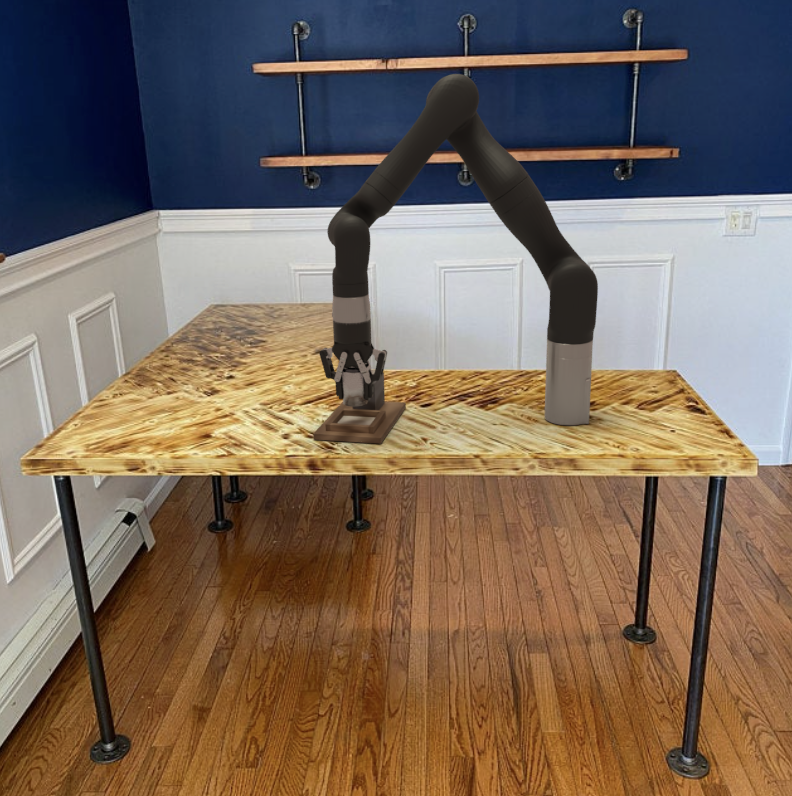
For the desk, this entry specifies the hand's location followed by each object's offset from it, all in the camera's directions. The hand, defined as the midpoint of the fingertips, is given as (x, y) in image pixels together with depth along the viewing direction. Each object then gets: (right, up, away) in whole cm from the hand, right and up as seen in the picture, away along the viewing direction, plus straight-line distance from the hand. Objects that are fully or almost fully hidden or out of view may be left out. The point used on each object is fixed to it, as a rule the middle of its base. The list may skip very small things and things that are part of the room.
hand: (354, 398), depth 169 cm
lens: (0, -1, 0) cm, 1 cm away
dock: (+1, -5, +6) cm, 8 cm away
